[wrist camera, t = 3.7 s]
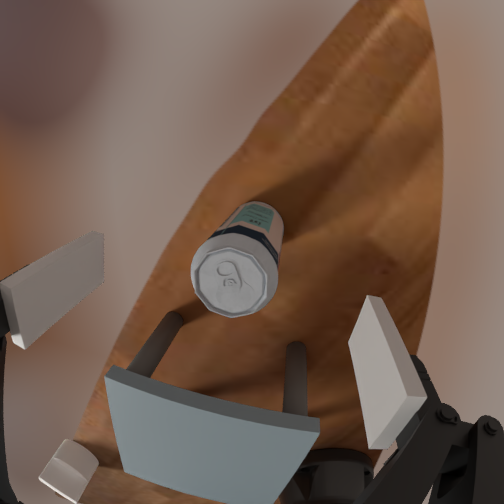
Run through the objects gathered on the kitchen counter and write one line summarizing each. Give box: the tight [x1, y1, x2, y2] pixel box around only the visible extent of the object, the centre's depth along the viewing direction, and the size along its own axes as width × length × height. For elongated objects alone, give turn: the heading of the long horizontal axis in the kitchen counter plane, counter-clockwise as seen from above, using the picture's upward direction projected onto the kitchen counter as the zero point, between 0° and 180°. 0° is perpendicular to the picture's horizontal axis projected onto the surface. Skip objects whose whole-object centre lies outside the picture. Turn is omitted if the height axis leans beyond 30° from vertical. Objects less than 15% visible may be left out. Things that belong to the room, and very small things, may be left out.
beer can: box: [191, 201, 284, 318], centre depth 21 cm, size 5×5×12 cm
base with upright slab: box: [39, 439, 99, 504], centre depth 41 cm, size 9×9×12 cm
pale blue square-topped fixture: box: [104, 312, 320, 504], centre depth 27 cm, size 16×16×12 cm
